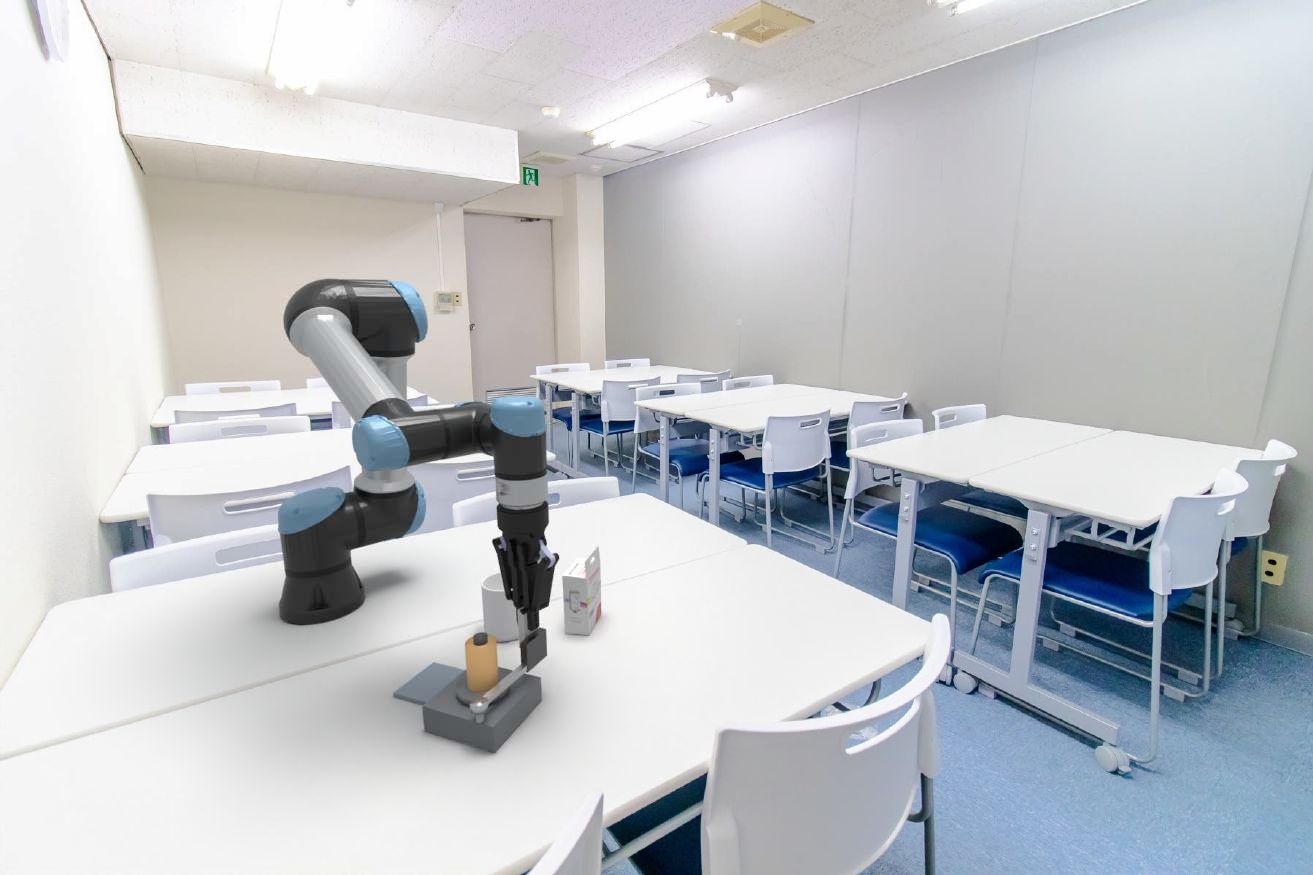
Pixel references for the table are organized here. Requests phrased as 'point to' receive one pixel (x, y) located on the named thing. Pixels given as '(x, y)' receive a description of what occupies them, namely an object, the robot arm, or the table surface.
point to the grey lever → (531, 655)
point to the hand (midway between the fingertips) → (529, 645)
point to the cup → (498, 610)
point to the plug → (480, 669)
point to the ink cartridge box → (582, 594)
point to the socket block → (486, 729)
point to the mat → (427, 683)
